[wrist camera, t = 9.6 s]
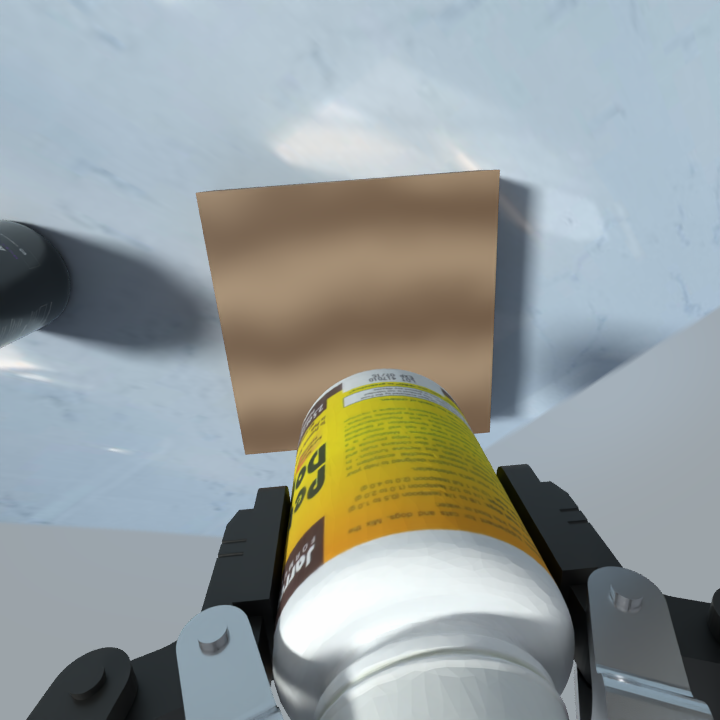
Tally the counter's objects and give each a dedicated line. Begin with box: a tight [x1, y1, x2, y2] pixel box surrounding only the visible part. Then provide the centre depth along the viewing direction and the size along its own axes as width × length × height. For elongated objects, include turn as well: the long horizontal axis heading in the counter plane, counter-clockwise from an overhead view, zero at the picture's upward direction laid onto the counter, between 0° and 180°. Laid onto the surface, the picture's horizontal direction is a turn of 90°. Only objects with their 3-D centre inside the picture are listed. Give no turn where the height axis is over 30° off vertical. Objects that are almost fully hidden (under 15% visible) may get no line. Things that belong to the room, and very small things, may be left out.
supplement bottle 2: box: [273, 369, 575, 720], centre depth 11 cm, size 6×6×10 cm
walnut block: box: [196, 170, 500, 455], centre depth 29 cm, size 16×16×4 cm
